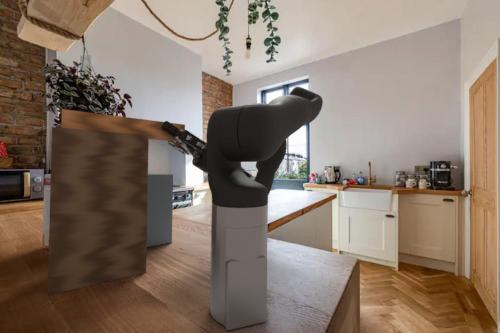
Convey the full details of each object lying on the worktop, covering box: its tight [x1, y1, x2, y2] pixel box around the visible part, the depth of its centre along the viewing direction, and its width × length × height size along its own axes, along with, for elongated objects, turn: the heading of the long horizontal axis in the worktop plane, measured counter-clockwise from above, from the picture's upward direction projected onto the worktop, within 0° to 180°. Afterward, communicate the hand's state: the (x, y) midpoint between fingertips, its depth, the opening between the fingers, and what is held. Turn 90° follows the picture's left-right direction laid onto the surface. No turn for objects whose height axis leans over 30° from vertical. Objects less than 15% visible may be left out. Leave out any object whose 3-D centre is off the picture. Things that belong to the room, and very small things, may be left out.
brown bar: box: [60, 108, 186, 142], centre depth 51 cm, size 24×4×4 cm, turn 124°
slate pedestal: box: [146, 173, 174, 248], centre depth 68 cm, size 16×10×21 cm, turn 124°
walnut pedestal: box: [47, 126, 150, 296], centre depth 48 cm, size 16×10×30 cm, turn 124°
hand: (160, 126), depth 55 cm, fingers open, 6 cm apart
